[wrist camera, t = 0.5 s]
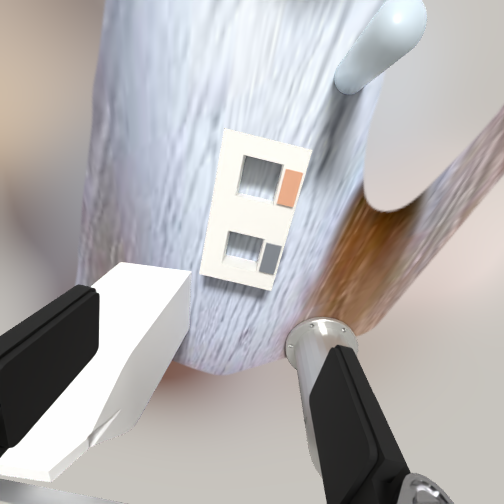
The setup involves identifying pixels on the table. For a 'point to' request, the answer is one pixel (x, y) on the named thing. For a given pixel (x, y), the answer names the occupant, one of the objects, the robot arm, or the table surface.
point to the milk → (110, 370)
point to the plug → (381, 44)
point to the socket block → (251, 209)
